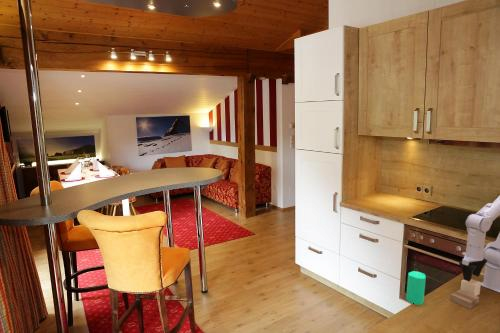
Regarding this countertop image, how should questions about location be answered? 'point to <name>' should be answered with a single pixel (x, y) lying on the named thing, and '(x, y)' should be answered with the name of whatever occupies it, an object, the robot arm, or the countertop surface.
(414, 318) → the countertop surface
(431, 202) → the countertop surface
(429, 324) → the countertop surface
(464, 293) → the stand
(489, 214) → the robot arm
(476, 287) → the block
